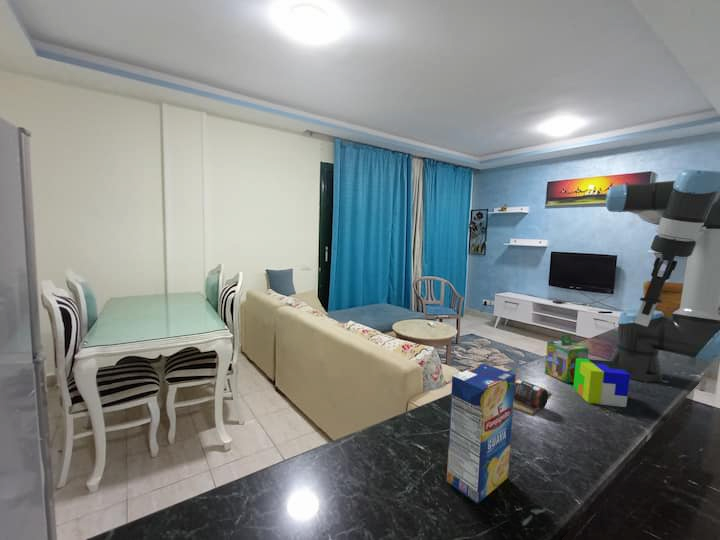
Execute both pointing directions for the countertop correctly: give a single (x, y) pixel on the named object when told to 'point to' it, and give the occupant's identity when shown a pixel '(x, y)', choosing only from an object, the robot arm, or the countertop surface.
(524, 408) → the wooden board
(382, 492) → the countertop surface
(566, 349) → the chalk box
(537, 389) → the supplement bottle
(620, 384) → the puzzle toy
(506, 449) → the beverage box
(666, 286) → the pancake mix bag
